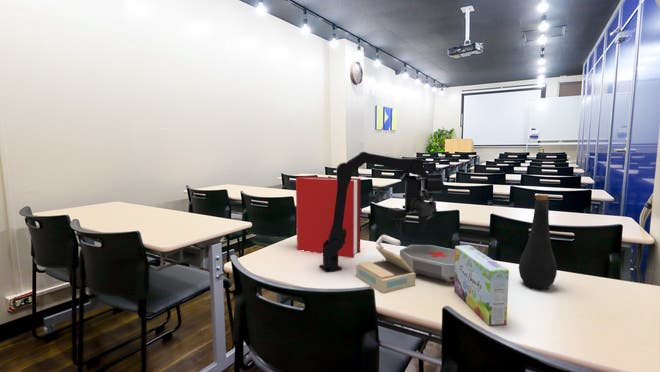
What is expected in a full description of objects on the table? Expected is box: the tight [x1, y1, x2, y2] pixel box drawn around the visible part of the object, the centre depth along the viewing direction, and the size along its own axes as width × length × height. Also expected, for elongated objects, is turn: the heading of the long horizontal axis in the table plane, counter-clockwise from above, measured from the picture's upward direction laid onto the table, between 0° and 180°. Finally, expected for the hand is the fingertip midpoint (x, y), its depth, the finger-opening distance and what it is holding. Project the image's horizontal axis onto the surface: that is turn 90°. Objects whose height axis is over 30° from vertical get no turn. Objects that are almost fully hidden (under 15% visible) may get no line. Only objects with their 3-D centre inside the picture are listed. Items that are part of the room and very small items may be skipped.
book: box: [295, 175, 362, 259], centre depth 149 cm, size 27×8×32 cm, turn 66°
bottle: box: [518, 193, 558, 291], centre depth 111 cm, size 11×11×30 cm
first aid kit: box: [399, 244, 455, 283], centre depth 124 cm, size 18×8×25 cm
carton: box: [355, 258, 416, 294], centre depth 118 cm, size 16×13×5 cm
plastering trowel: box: [375, 234, 414, 273], centre depth 119 cm, size 14×11×5 cm
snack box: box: [453, 244, 510, 327], centre depth 98 cm, size 21×6×15 cm, turn 4°
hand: (412, 234), depth 129 cm, fingers open, 9 cm apart
